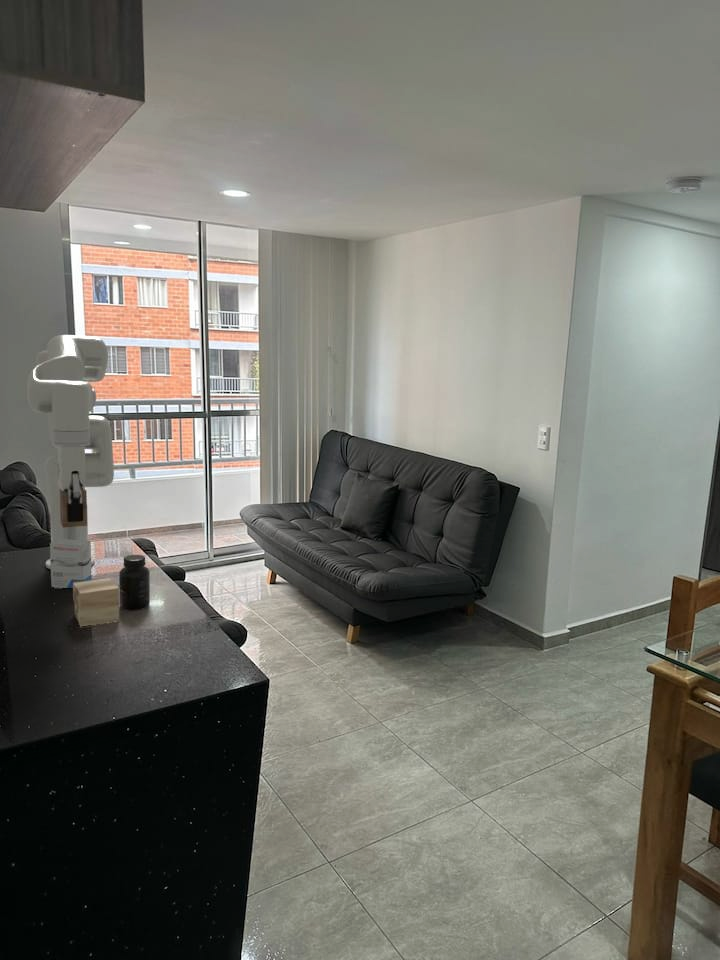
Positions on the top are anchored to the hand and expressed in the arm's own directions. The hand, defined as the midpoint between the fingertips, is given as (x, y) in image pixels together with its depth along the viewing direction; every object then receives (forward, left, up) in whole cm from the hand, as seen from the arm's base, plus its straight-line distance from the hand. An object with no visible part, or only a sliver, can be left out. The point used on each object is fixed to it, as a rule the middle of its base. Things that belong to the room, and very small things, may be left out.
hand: (73, 517), depth 147 cm
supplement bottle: (+2, +13, -22) cm, 26 cm away
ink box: (-18, +1, -22) cm, 29 cm away
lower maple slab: (+7, +3, -22) cm, 23 cm away
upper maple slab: (+7, +3, -18) cm, 20 cm away
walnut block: (0, 0, -2) cm, 2 cm away
